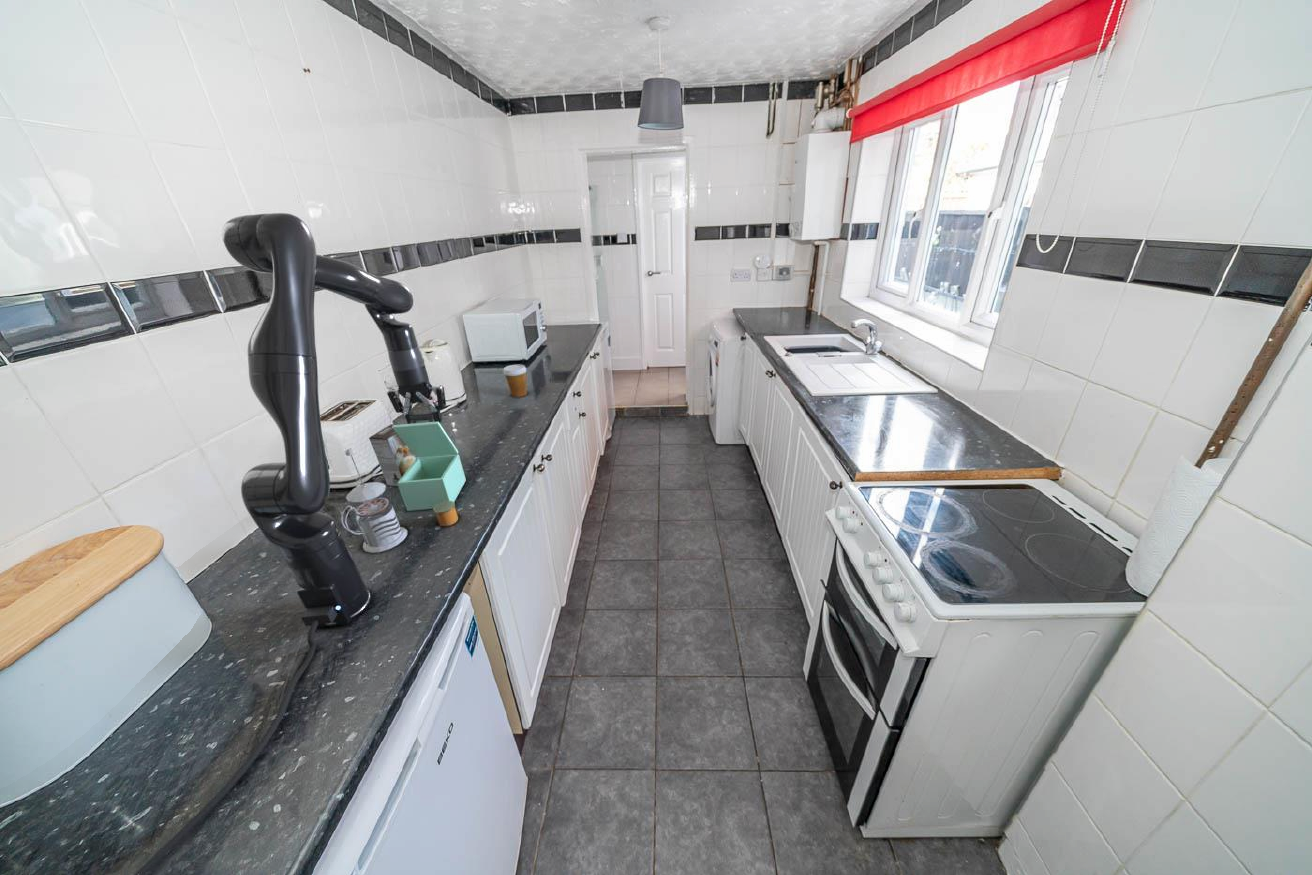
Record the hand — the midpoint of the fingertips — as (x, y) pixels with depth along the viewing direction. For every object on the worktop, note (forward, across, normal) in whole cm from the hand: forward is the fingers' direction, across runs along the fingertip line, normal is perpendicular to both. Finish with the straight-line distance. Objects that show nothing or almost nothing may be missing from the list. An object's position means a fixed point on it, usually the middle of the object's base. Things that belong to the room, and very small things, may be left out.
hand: (426, 424), depth 123 cm
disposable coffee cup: (+18, +9, +71) cm, 74 cm away
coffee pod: (+20, +7, -18) cm, 28 cm away
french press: (+20, -7, -24) cm, 32 cm away
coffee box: (+19, -13, +6) cm, 24 cm away
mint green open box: (+19, 0, -5) cm, 20 cm away
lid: (+4, 0, -2) cm, 5 cm away
